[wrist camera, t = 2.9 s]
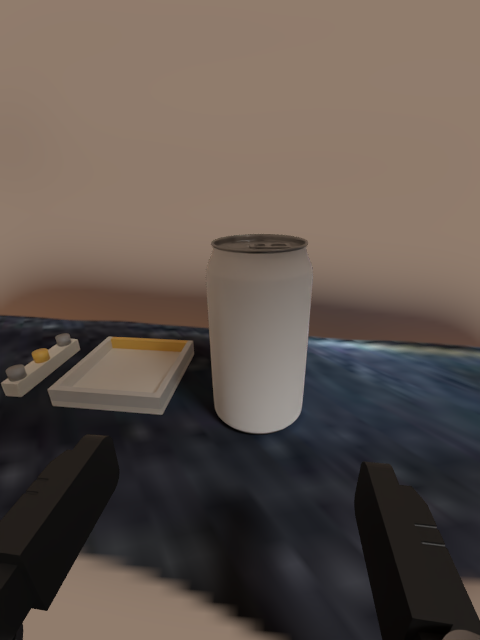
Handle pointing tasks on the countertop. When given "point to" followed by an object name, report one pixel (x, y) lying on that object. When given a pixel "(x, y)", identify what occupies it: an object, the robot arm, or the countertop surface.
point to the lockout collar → (125, 376)
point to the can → (259, 329)
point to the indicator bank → (39, 366)
